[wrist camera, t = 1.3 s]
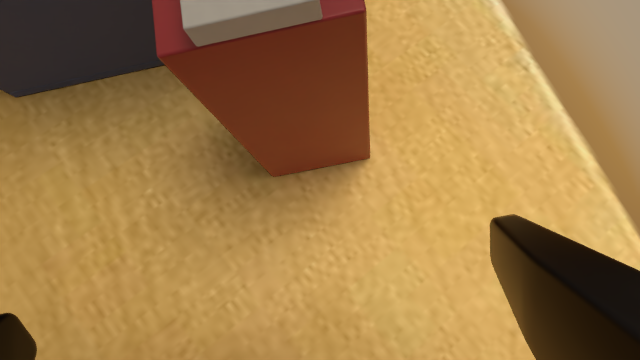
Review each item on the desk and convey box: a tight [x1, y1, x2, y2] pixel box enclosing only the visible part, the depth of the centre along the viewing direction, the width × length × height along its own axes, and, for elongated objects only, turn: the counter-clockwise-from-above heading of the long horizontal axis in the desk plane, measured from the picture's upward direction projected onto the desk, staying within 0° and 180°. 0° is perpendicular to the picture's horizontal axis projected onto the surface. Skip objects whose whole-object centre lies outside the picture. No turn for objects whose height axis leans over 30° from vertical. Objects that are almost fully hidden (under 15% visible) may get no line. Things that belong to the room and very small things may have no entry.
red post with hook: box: [152, 0, 370, 177], centre depth 17 cm, size 8×5×13 cm, turn 10°
